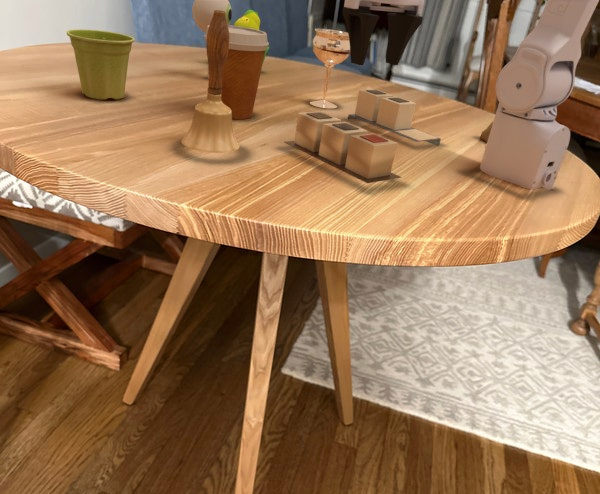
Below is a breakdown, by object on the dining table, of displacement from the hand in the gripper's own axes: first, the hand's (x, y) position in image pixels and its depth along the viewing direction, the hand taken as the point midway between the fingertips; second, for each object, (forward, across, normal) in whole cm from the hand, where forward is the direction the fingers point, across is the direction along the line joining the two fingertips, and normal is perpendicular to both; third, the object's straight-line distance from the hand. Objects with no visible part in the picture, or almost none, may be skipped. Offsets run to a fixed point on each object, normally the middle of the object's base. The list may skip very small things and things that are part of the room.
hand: (374, 64), depth 86 cm
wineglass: (+10, -4, -14) cm, 18 cm away
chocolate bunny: (+10, -20, +14) cm, 26 cm away
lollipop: (+10, +8, -35) cm, 37 cm away
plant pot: (+10, +32, -25) cm, 42 cm away
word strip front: (+10, +17, +13) cm, 24 cm away
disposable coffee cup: (+10, +18, -12) cm, 23 cm away
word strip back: (+10, -4, +3) cm, 11 cm away
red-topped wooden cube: (+9, +17, +18) cm, 27 cm away
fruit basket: (+10, -5, -44) cm, 45 cm away
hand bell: (+10, +30, +3) cm, 32 cm away
